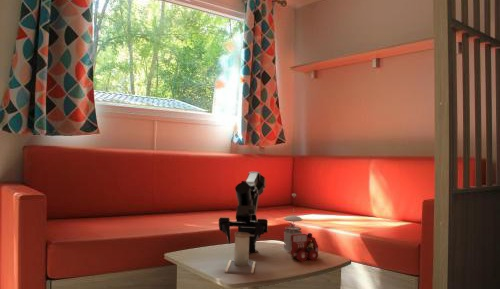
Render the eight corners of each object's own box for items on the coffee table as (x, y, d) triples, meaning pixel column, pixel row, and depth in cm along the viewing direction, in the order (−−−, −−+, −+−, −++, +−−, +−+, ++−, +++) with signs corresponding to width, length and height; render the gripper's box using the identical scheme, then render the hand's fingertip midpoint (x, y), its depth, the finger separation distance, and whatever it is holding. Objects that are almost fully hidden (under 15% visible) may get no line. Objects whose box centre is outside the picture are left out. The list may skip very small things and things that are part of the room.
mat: (229, 261, 166) (229, 260, 166) (255, 263, 166) (255, 261, 166) (224, 272, 151) (225, 270, 151) (253, 274, 151) (253, 272, 151)
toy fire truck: (322, 260, 174) (322, 234, 174) (295, 262, 169) (295, 235, 169) (313, 256, 180) (313, 231, 180) (286, 258, 175) (287, 232, 176)
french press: (304, 248, 193) (306, 192, 193) (302, 254, 182) (304, 195, 182) (282, 247, 195) (284, 191, 195) (279, 252, 184) (281, 194, 184)
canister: (234, 261, 164) (235, 231, 164) (249, 262, 164) (250, 232, 164) (232, 265, 158) (233, 234, 158) (248, 266, 158) (249, 235, 158)
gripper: (219, 196, 166) (214, 230, 155) (268, 198, 165) (266, 232, 154) (221, 213, 174) (217, 247, 163) (268, 215, 173) (266, 249, 161)
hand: (241, 243), depth 160 cm, fingers open, 9 cm apart
